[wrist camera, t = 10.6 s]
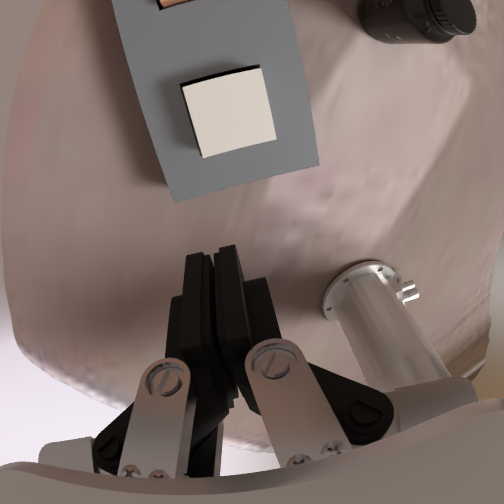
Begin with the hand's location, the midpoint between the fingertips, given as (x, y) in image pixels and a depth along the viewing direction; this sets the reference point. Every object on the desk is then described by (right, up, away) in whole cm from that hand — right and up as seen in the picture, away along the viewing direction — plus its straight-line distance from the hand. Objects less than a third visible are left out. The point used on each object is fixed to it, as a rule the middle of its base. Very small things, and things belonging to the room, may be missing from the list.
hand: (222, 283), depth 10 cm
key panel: (-3, +21, +11) cm, 24 cm away
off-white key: (-1, +14, +14) cm, 20 cm away
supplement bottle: (+15, +27, +11) cm, 32 cm away
